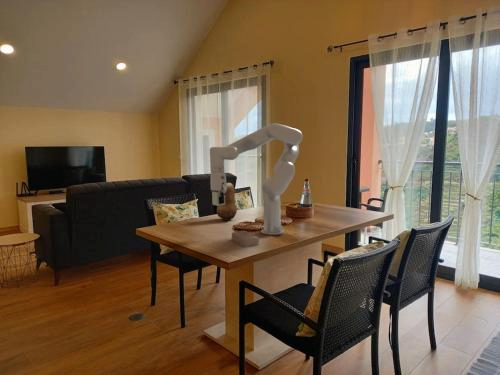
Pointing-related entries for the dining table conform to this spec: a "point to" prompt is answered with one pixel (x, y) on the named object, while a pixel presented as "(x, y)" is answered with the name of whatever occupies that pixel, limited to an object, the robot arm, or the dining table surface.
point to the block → (216, 198)
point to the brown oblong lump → (228, 204)
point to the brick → (245, 238)
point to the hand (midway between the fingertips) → (218, 202)
